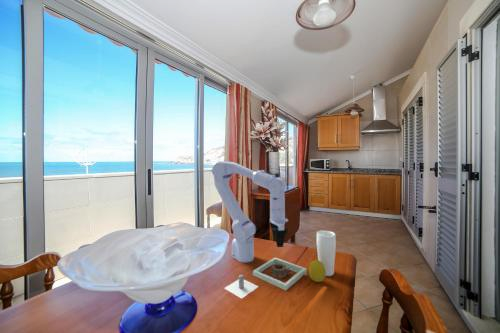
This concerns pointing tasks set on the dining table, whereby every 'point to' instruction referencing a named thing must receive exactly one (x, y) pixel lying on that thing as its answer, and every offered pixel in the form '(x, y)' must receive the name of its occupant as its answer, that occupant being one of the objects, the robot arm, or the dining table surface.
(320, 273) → the lemon
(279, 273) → the ring
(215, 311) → the dining table surface
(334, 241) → the drinking glass
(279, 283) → the tray
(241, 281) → the white base with peg
